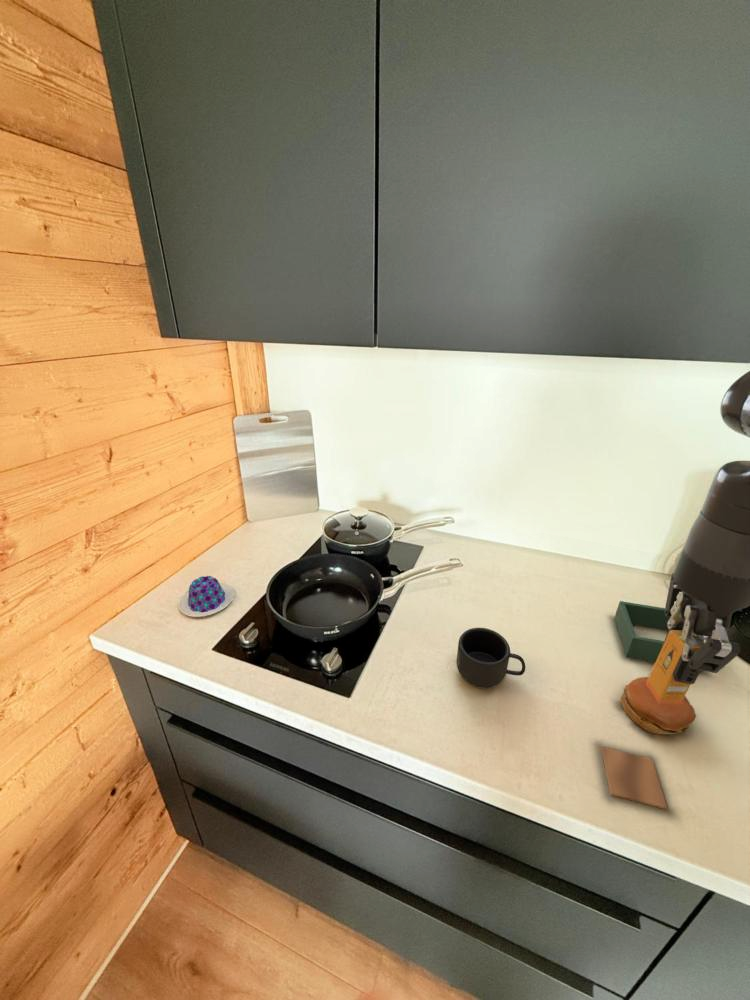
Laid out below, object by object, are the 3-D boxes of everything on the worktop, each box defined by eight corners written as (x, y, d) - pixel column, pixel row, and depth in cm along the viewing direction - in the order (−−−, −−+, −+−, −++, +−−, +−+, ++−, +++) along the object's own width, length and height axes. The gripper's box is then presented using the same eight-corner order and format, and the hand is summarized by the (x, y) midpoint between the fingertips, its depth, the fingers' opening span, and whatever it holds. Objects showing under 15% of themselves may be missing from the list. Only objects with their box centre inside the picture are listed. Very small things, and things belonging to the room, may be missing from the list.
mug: (451, 685, 76) (454, 657, 73) (459, 649, 84) (462, 622, 80) (521, 704, 73) (527, 675, 69) (522, 665, 80) (528, 637, 77)
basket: (682, 630, 88) (690, 612, 86) (703, 672, 79) (712, 652, 76) (613, 619, 91) (619, 600, 89) (625, 657, 82) (632, 638, 79)
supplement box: (684, 705, 55) (712, 649, 51) (657, 704, 55) (682, 649, 51) (669, 683, 58) (693, 629, 54) (643, 683, 58) (666, 629, 54)
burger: (616, 717, 70) (624, 698, 68) (625, 680, 77) (632, 662, 75) (687, 752, 65) (698, 732, 63) (690, 709, 72) (700, 690, 70)
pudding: (205, 580, 104) (200, 562, 102) (245, 591, 100) (242, 573, 98) (167, 611, 94) (161, 592, 92) (210, 625, 90) (205, 606, 88)
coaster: (651, 760, 64) (652, 758, 64) (666, 809, 58) (667, 808, 58) (601, 748, 66) (601, 746, 65) (610, 794, 60) (611, 793, 59)
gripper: (804, 603, 40) (735, 722, 47) (735, 528, 52) (689, 633, 60) (712, 589, 42) (659, 706, 49) (666, 520, 54) (630, 623, 61)
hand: (676, 666), depth 54 cm, fingers closed on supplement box, 4 cm apart
